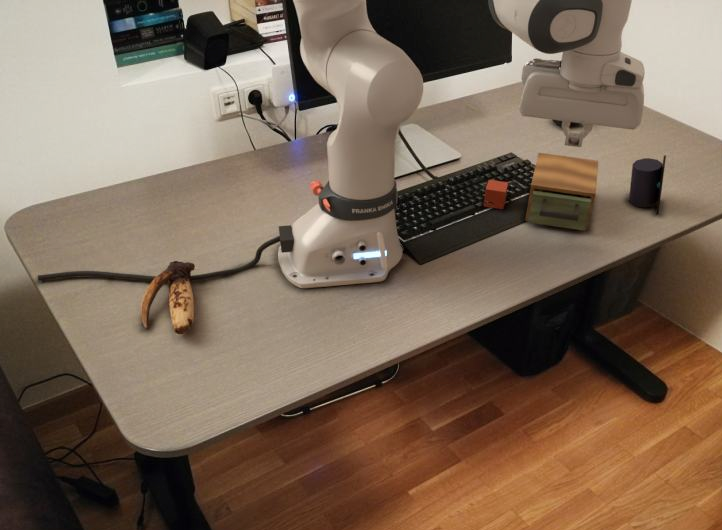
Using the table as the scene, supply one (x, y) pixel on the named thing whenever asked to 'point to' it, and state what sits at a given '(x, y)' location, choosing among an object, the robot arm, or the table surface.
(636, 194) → the speaker
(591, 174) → the cabinet
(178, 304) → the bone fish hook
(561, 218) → the drawer
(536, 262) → the table surface
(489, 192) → the block
